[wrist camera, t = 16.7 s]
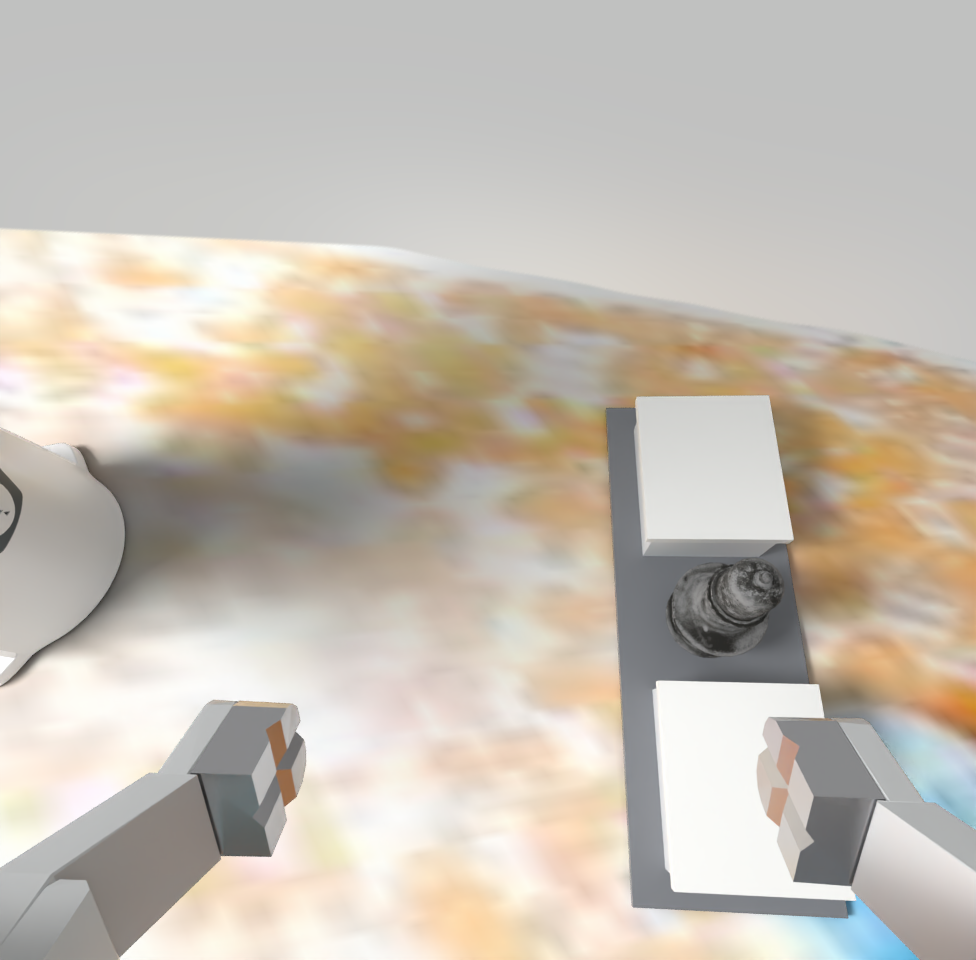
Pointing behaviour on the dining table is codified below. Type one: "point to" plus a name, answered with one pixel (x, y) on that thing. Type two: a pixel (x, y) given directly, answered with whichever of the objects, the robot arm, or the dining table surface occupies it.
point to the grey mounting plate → (703, 681)
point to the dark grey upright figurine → (723, 607)
